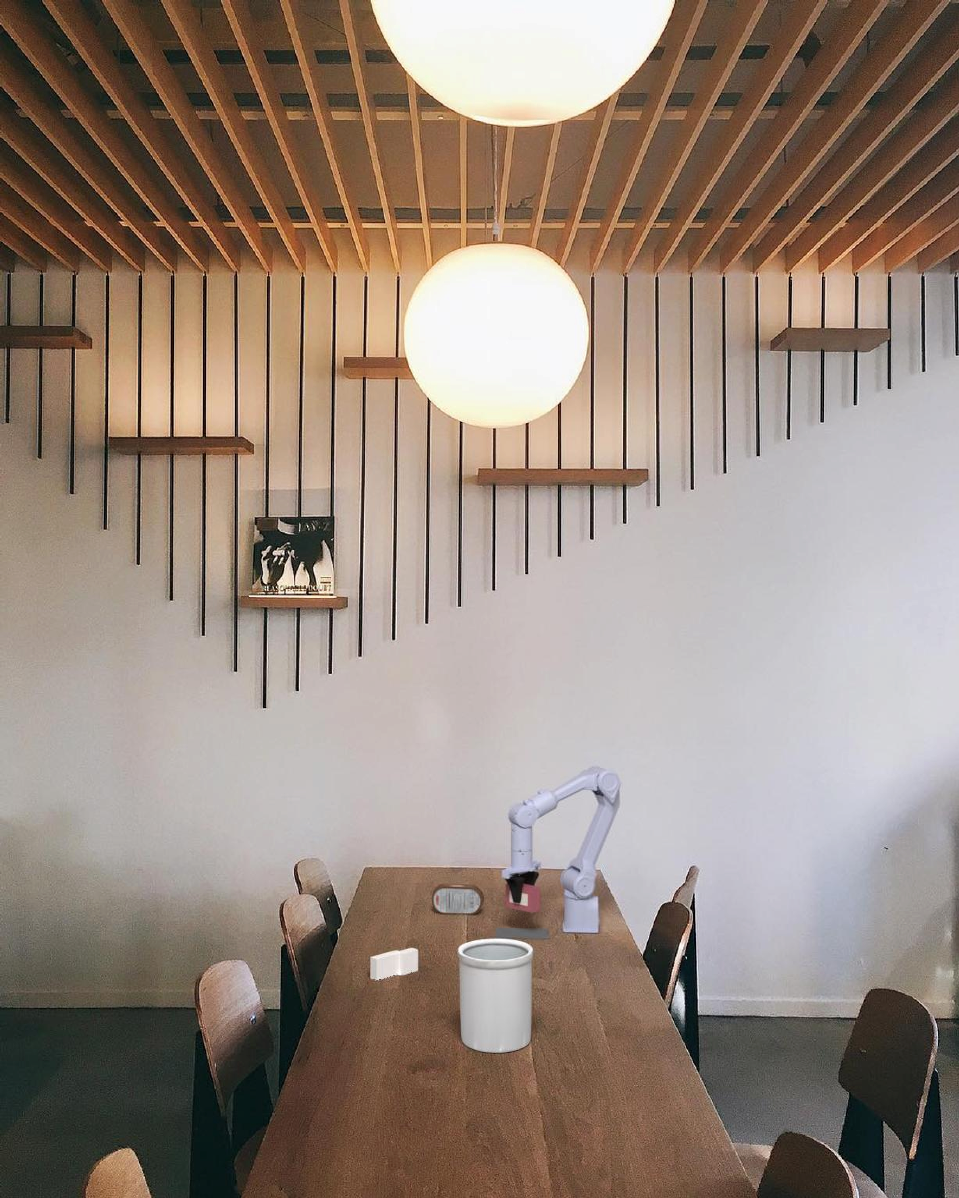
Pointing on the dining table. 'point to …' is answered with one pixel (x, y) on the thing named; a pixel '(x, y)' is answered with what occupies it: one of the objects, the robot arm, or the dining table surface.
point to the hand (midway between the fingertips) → (521, 900)
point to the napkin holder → (393, 963)
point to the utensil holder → (495, 994)
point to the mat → (521, 933)
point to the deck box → (525, 899)
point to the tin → (457, 899)
